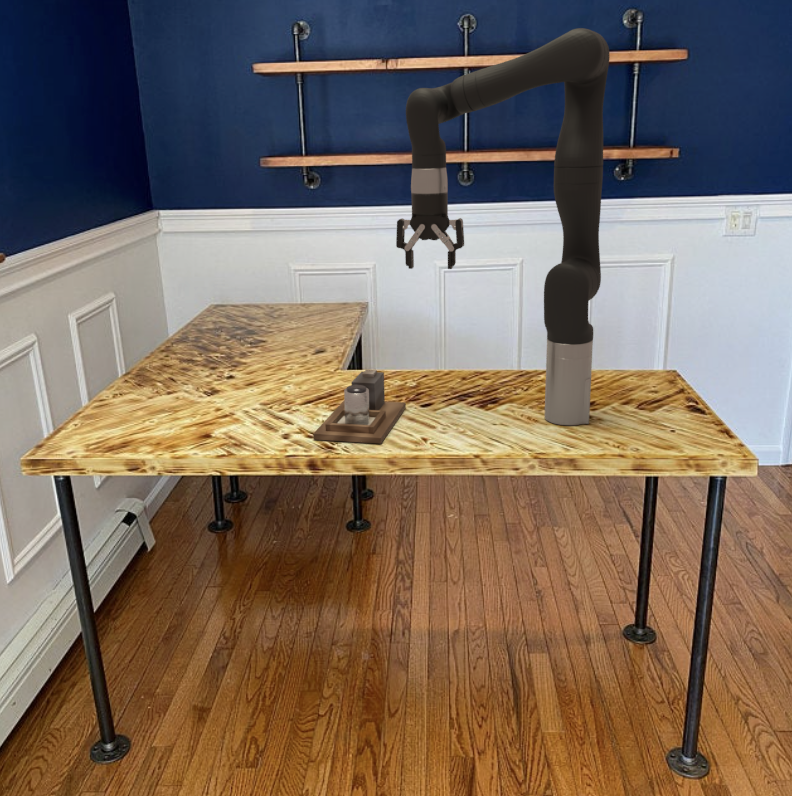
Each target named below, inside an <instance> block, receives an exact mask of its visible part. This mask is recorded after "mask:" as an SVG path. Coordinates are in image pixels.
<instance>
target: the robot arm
mask: <svg viewBox="0 0 792 796" xmlns="http://www.w3.org/2000/svg"><path fill="white" fill-rule="evenodd" d="M609 65H610V48H609V45H608V43H607V41H606V39H605V38H604V36H602V34H600V33H598V32H596V31H594V30H591V29H588V28H584V27H583V28H582V27H580V28H579V27H578V28H573V29H571V30H568V31H567V32H566V33H563V34H561V35H560V36H559V37H556V38H555V39H553V40H551V41H549V42H547V43H545V44H543V45H542V46H540V47H538V48H535V49H534V50H532V51H530V52H528V53H527V52H526V53H524V54H523V55H520V56H518V57H514V58H512V59H509V60H507V61H503V62H500V63H499V62H498V63H496V64H494V65H490V66H488V67H484V68H481V69H478V70H475V71H472V72H470V73H466V74H464V75H461V76H458V77H457V78H455V79H454V80H453V81H452V82H449V83H446V84H444V85H441V86H438V87H432V88H428V87H419V88H417V89H415V90H413V91H412V92H411V93H410V94H409V96H408V98H407V101H406V105H405V120H406V125H407V130H408V136H409V140H410V143H411V144H410V145H411V181H410V183H411V184H410V191H411V193H410V194H411V218H410V219H404V218H400V219H398V220H397V221H396V240H395V242H396V243H395V244H396V245H395V246H396V248H398V249H401V250H403V251H404V253H405V257H404V259H405V265H406V266H407V267H408V270H409V269H411V270H412V269H414V266H415V263H414V262H415V261H414V250H413V248H414V246H415V245H416V243H417V242H418V241H419V240H421V241H428V240H431V241H438V240H440V241H441V243H442V244H444V246H445V247H446V248H447V250H448V251H447V269H448V270H452V269H453V267H454V266H455V265H456V262H457V261H456V260H457V259H456V258H457V257H456V255H457V254H456V252H457V250H459V249H462V248H463V247H464V246H465V233H464V220H463V218H461V217H460V218H458V219H450V218H449V213H448V210H449V209H448V208H449V207H448V202H449V201H448V200H449V199H448V187H449V186H448V173H447V147H446V142H445V141H444V139H442V138H441V134H440V126H439V124H440V125H441V124H442V123H446V122H448V121H451V120H453V119H455V118H458V117H459V116H462V115H464V114H468V113H472V112H476V111H479V110H483V109H485V108H488V107H492V106H494V105H496V104H497V105H498V104H499V103H502V102H504V101H506V100H509V99H511V98H513V97H516V96H517V95H520V94H521V93H525V92H527V91H529V90H532V89H536V88H538V87H543V86H547V85H552V84H560V83H564V114H563V120H562V123H561V128H560V131H559V134H558V135H559V136H558V139H557V144H556V148H555V154H554V163H553V166H554V167H553V195H554V200H555V204H556V208H557V213H558V215H559V219H560V223H561V226H562V227H561V228H562V236H563V237H562V238H563V240H562V256H561V262H560V263H557V264H555V266H553V267H552V268H551V269H550V270H549V271H548V272H547V274H546V277H545V281H544V285H543V289H544V290H543V320H544V321H543V323H544V327H545V329H546V355H545V356H546V363H545V388H544V389H545V396H544V419H545V420H546V421H547V422H549V423H552V424H555V425H561V426H578V425H584V424H585V425H589V424H590V409H591V391H592V390H591V389H592V387H591V386H592V370H593V369H592V365H593V349H594V348H593V346H594V343H593V342H594V326H593V325H592V324H591V323H590V322H589V302H590V301H591V300H592V299H593V298H594V297H595V296H596V295H597V293H598V292H599V290H600V287H601V283H602V282H601V281H602V280H601V279H602V273H601V272H602V271H601V257H600V254H601V253H600V238H599V237H600V235H599V234H600V221H601V206H602V205H601V204H602V190H603V177H604V117H603V115H604V113H603V112H604V101H605V93H606V85H607V78H608V72H609ZM408 226H410V228H411V229H412V230H413V232H414V233H413V234H412V236H411V237H410V238H409V240H408V242H405V231H406V230H407V229H408V228H409V227H408ZM450 226H451V227H452V230H454V231H455V237H456V243H454V241H453V240H452V238H451V237H450V235H449V233H448V232H447V230H448V229H449V227H450Z"/></svg>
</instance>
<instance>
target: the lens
mask: <svg viewBox="0 0 792 796" xmlns="http://www.w3.org/2000/svg"><path fill="white" fill-rule="evenodd" d="M343 391H344V392H343V393H344V394H343V395H344V397H343V398H344V400H343V401H345V424H358V425H368V424H369V389H368V388H366V387H365V386H363V385H352V384H351V385H349V386H347V387H346V388H344V390H343Z"/></svg>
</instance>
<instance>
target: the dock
mask: <svg viewBox="0 0 792 796" xmlns="http://www.w3.org/2000/svg"><path fill="white" fill-rule="evenodd" d="M351 385H363V386H365V387H366V388H368V389H369V424H368V425H358V424H345V401H344V400H343V401H342V402H341V403H340V404H339V405H338V406H337V407H336V408H335V409H334V411H333V412H332V413H331V414H330V415H329V416H328V417H327V418H326V419H325V420H324V422H322V423H321V425H319V427H318V428H317V429H316V430H315V431H314V432H313V433H312V437H313V440H317V441H319V440H320V441H333V442H335V441H337V442H348V443H349V442H350V443H365V444H366V443H367V444H382V443H383V442H384V440H385V438H386V437H387V436H388V434H389V433H390V431H391V430H392V428H393V427H394V426H395V424H396V423H397V421H398V419H400V417H401V415H402V414H403V412H404V411H405V409H406V408H407V405H406V402H405V401H403V402H402V401H387V400H385V398H386V397H385V395H386V394H385V373H384V371H383V372H380V371H379V372H378V370H377V369H365V370H364V371H360V373H359V374H358V375H357V376H356V377H355V378H354V379H353V380H352V381H351Z"/></svg>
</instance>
